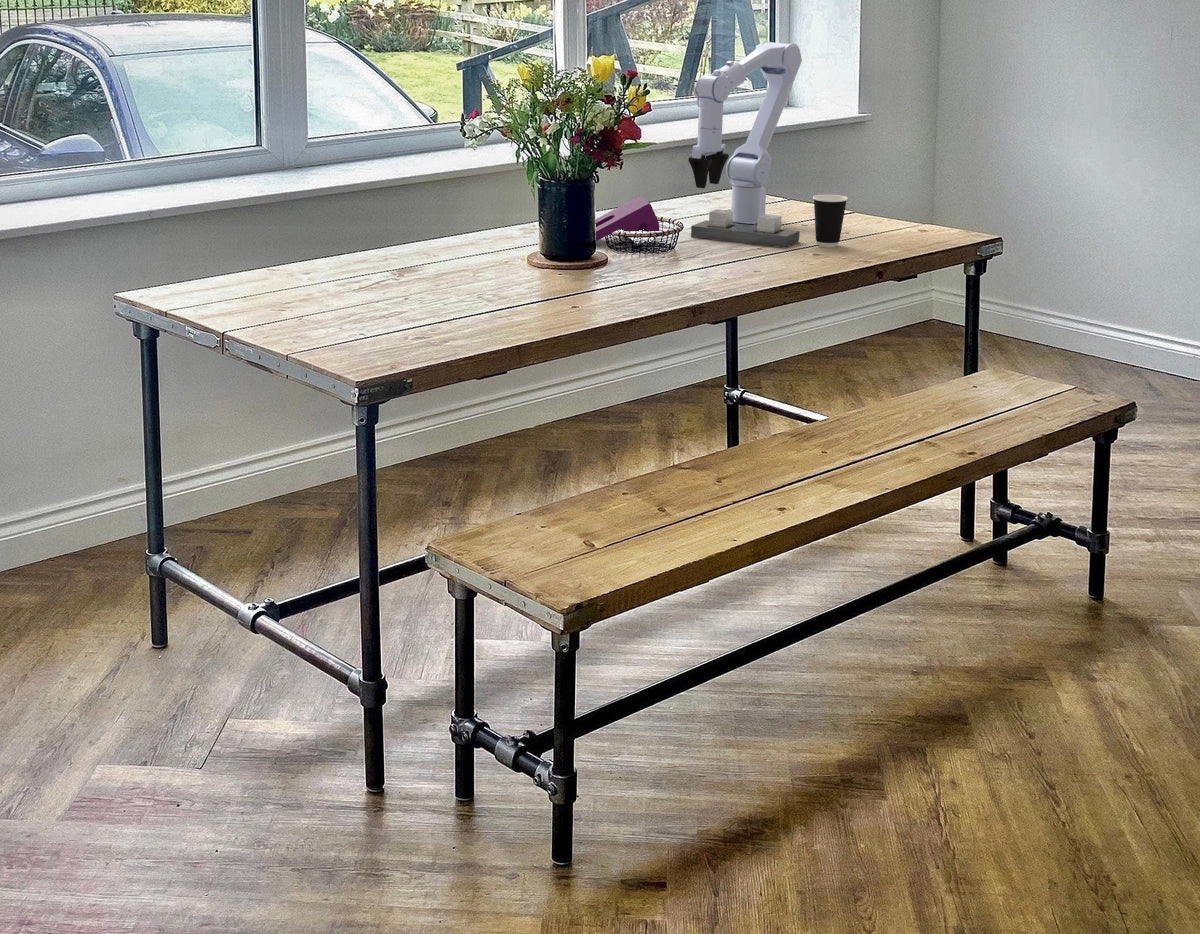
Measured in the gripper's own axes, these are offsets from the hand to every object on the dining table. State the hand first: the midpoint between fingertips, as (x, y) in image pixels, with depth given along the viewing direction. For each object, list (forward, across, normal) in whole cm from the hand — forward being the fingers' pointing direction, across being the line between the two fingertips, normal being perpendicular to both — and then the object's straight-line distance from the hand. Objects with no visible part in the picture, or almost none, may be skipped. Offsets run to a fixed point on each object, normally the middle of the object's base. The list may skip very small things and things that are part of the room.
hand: (707, 185), depth 344 cm
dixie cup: (+10, +2, +32) cm, 34 cm away
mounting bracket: (+11, +24, -12) cm, 29 cm away
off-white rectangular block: (+10, +6, +19) cm, 23 cm away
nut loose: (+10, +6, +7) cm, 14 cm away
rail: (+10, +6, +13) cm, 18 cm away
